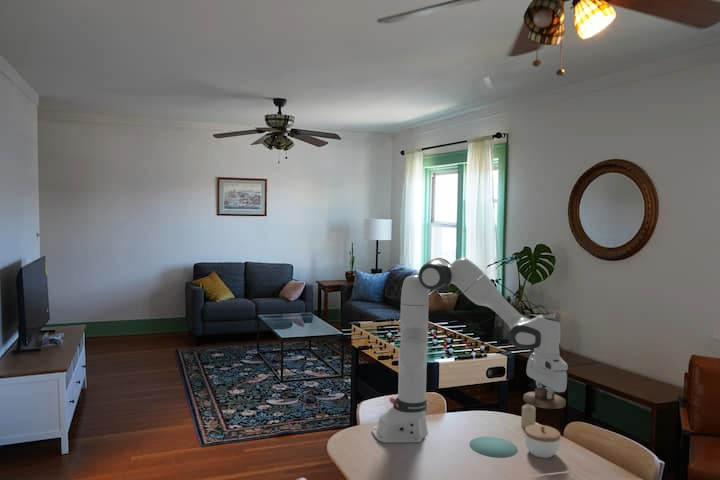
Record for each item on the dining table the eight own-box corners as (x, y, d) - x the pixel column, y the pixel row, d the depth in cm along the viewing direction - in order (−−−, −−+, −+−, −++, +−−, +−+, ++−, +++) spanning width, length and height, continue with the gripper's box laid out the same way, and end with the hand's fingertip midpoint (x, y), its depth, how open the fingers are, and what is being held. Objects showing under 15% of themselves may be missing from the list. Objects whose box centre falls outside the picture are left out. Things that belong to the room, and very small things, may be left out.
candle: (535, 431, 230) (536, 407, 229) (521, 429, 231) (522, 406, 231) (534, 426, 236) (535, 402, 235) (520, 424, 237) (521, 401, 236)
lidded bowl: (559, 465, 201) (561, 435, 200) (523, 459, 205) (524, 430, 204) (558, 450, 213) (560, 422, 212) (524, 445, 217) (525, 417, 216)
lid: (538, 410, 198) (539, 397, 198) (515, 395, 213) (516, 384, 212) (574, 407, 202) (575, 394, 202) (549, 392, 217) (550, 381, 216)
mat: (483, 461, 202) (483, 459, 202) (461, 440, 220) (461, 438, 220) (527, 456, 207) (527, 454, 207) (502, 436, 225) (502, 434, 224)
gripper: (523, 351, 215) (521, 387, 216) (555, 367, 196) (553, 406, 197) (537, 351, 217) (535, 385, 218) (571, 366, 197) (568, 405, 198)
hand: (544, 395), depth 207 cm, fingers closed on lid, 3 cm apart
